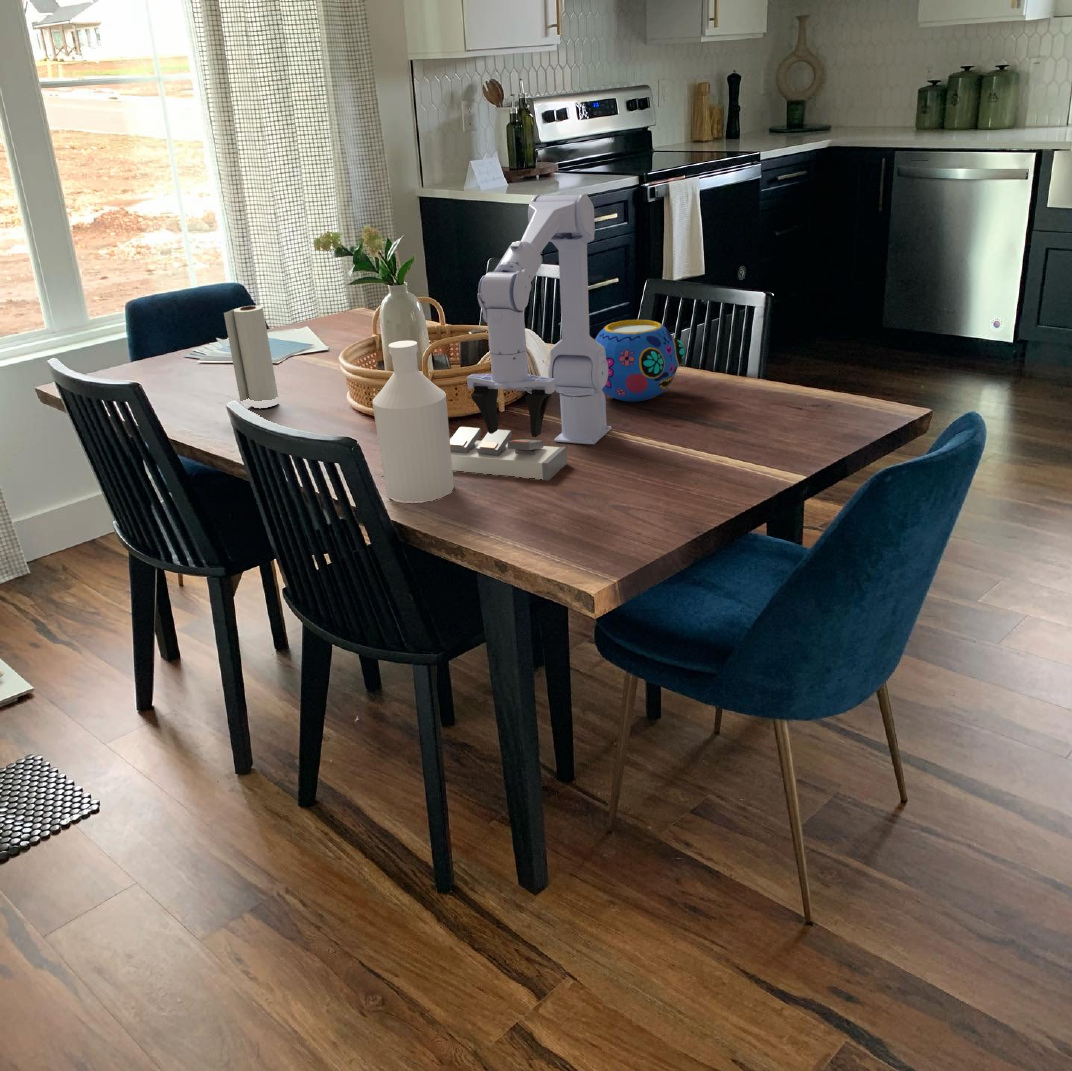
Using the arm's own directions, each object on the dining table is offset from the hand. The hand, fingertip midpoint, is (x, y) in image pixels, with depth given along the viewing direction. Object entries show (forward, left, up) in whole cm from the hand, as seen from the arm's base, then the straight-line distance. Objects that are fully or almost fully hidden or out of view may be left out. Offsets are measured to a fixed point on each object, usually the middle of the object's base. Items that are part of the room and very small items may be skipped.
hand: (514, 433), depth 171 cm
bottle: (+4, -17, -10) cm, 20 cm away
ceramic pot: (-53, +2, -10) cm, 54 cm away
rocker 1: (-10, -15, -6) cm, 19 cm away
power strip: (-10, -12, -10) cm, 19 cm away
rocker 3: (-10, -3, -6) cm, 12 cm away
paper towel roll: (-32, -76, -10) cm, 83 cm away
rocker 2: (-10, -9, -6) cm, 15 cm away
